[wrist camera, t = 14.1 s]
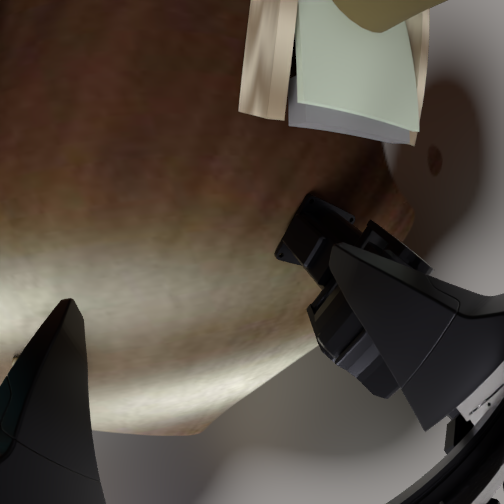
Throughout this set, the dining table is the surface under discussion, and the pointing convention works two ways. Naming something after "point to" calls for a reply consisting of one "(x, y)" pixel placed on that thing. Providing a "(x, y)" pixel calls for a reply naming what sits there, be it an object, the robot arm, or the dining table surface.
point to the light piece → (352, 76)
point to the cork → (382, 11)
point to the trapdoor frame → (280, 54)
